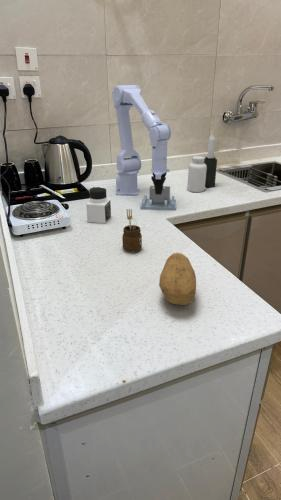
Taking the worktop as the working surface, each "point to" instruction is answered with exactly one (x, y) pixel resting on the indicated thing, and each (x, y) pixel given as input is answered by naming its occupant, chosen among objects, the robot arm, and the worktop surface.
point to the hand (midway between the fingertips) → (158, 192)
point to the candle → (210, 163)
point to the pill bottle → (197, 174)
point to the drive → (157, 197)
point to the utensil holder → (131, 236)
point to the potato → (178, 280)
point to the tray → (158, 204)
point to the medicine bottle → (98, 206)
